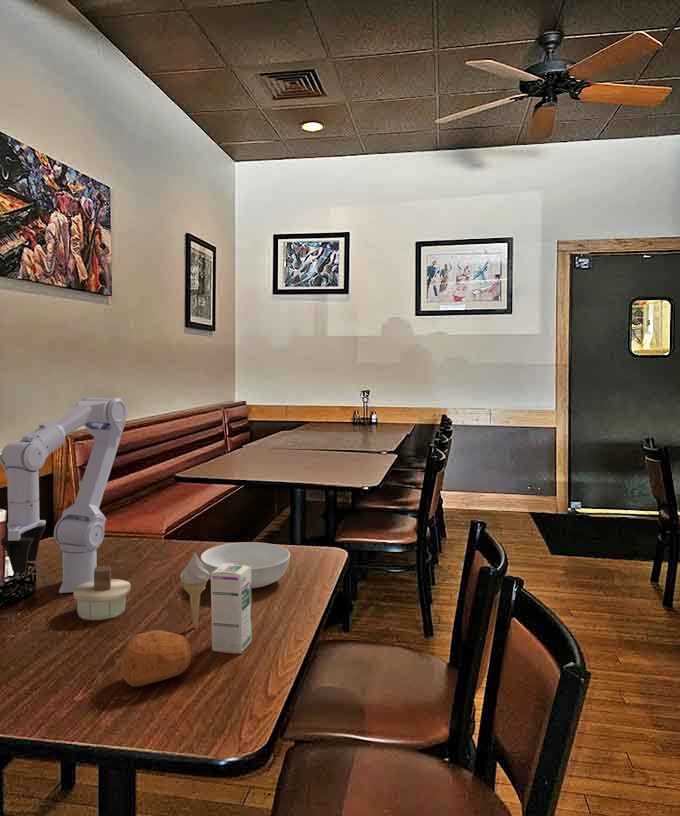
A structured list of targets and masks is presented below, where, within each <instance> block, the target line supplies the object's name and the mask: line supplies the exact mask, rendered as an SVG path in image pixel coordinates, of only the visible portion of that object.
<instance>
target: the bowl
mask: <svg viewBox="0 0 680 816" xmlns="http://www.w3.org/2000/svg"><path fill="white" fill-rule="evenodd" d="M76 607H77V608H76V609H77V610H76V611H77V612H76V613H77V614H78V617H79V618H80V619H83V620H86V621H103V620H109V619H112V618H115V617H119V616H120V615H122V614H124V612H125V611H126V596H124V597H122V598H119V599H115V600H111V601H105V602H83V601H79V600H77V599H76Z"/></svg>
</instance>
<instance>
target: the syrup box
mask: <svg viewBox="0 0 680 816" xmlns="http://www.w3.org/2000/svg"><path fill="white" fill-rule="evenodd" d="M252 589H253V588H251V566H250V565H246V564H237V563H227V564H225V563H223V564H222V566H220V567H219V568H217V569H216V570H215V571H213V572H212V573H211V580H210V601H211V602H210V603H211V604H210V605H211V607H210V608H211V609H210V610H211V612H210V614H211V617H210V619H211V621H210V622H211V651H214V652H218V653H227V654H238V655H239V654H240V655H241V654H243V652H244V650H245V649H247V647H248V646H249V644H251V643H252V641H253V608H252V607H253V606H252V604H253V603H252V601H253V599H252V596H253V595H252Z"/></svg>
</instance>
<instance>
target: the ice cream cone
mask: <svg viewBox="0 0 680 816" xmlns="http://www.w3.org/2000/svg"><path fill="white" fill-rule="evenodd" d="M209 575H210V574H209V572H208V571H207V570H205V567H204V565H203V564H202V563H201V559H200V558H199V557H198V555H197V554H196V552H195V551H194V552H193V554H192V556H191V558H190V560H189V561H188V562H187V564H186V566H185V568H183V570H182V572H181V573H180V574H179V576H180V577H179V578H180V582H181V583H182V585H183V589H184V591H185V592H187V594H188V595H189V601H190V602H189V603H190V610H191V617H192V626H193V628H194V629H196V628H197V627H198V622H199V620H198V619H199V610H200V602H201V601H200V600H201V594H202V592H203V591H204V590H205V589H206V585H207V583H208V581H209V580H210V579H209V577H208V576H209Z"/></svg>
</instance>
